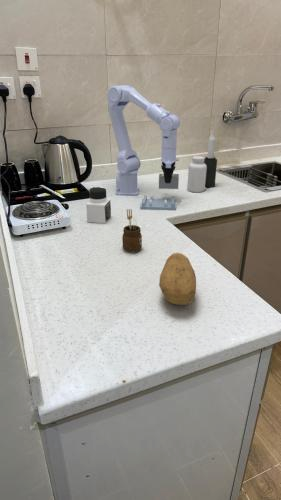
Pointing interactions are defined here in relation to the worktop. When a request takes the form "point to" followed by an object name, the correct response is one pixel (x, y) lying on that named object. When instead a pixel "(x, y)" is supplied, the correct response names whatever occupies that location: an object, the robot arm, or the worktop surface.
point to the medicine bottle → (98, 206)
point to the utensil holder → (132, 236)
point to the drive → (171, 185)
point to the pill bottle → (197, 174)
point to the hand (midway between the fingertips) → (167, 181)
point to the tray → (158, 203)
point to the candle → (210, 163)
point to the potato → (178, 280)
